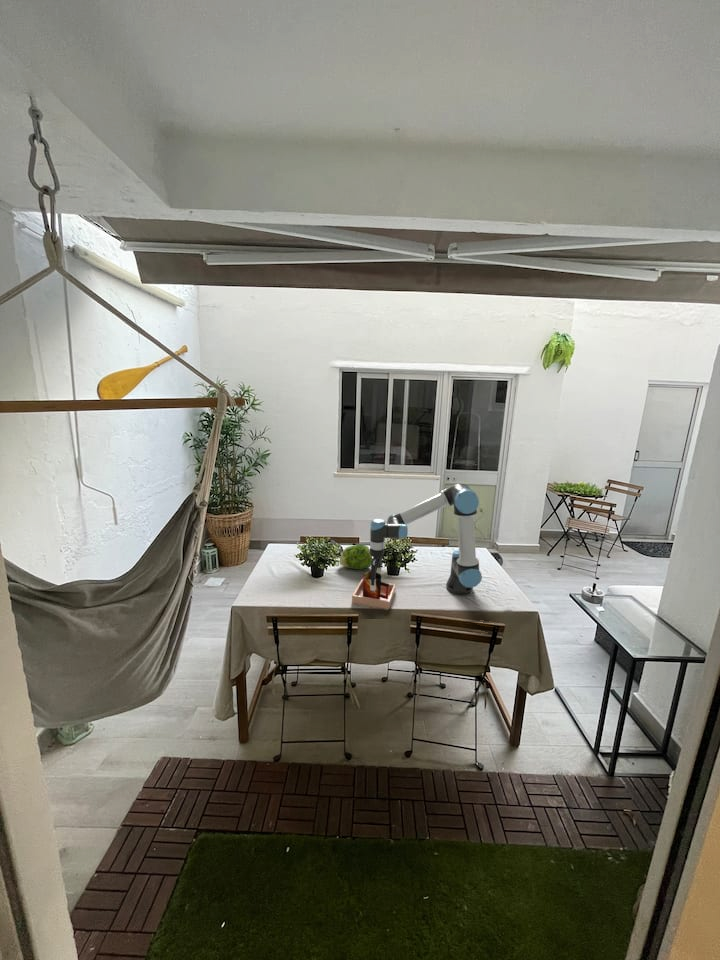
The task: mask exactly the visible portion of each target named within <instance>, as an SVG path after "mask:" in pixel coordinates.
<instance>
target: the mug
mask: <svg viewBox="0 0 720 960" xmlns="http://www.w3.org/2000/svg"><path fill="white" fill-rule="evenodd" d="M370 572H371V571H367V572H365V573H364V574H363V578H362V579H363V597H369V598H375V599H379V598H380V597H381V598H384V599H388V589H389V584H387V583H388V582H384V581H382V574H381V575H380V574H379V573H376V578H375V579H376V590H375V591H373V590H370V581H371V580H370V579H369V578H370ZM381 585H382V586H385V587H386V595H382V594H380V591H381Z"/></svg>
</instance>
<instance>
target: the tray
mask: <svg viewBox="0 0 720 960" xmlns="http://www.w3.org/2000/svg"><path fill="white" fill-rule="evenodd" d="M363 579H364V578H361V580H360V581H359V583H358V585H357V586H356V588H355V589H354V592H353V594H352V595H351V604H352V605H356V606H363V607H367V606H368V608H373V607H375V608H374V609H379V610H385V611H390V607H391V605H392V602H393V599H394V597H395V595H394V594H396V588H397V587H396V586H397V585H396V584H395V583H389V582H386V583H387V584H389V589H388V599H384V598H381V597H380V598H379V599H375V598H369V597H363ZM380 594H382V595H386V587H385V586H382V585H381V591H380Z"/></svg>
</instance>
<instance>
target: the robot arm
mask: <svg viewBox="0 0 720 960" xmlns="http://www.w3.org/2000/svg"><path fill="white" fill-rule="evenodd" d="M479 501H480V500H479V496H478V495H477V493H476V492H475V491H474V490H473V489H471V488H470V487H469V486H468V485H466V484H465V483H456V484H453V485H451V486H448V487H446V488H444V489H443V490H441V491H440V493H438V494H436V495H434V496H432V497H430V498H428V499H426V500H423V501H422V502H420V503H418V504H415V505H413V506H411V507H410V508H407V509H406V510H403V511H401V512H399V513H397V514H396V513H394V514H390V515H389V516H388V518H387V519H386V520H387V521H385V519H381V518H374V519H372V520H371V521H370V537H369V539H370V540H369V542H368V543H369V549H370V555H371V556H372V564H371V566H370V571H369V572H370V578H369V579H370V580H371V581H370V590H373V591H375V590H376V579H375V578H376V573H379V574H380V575H381V576H382V568H384V566H383V558H382V557H383V556H384V554H385V539H400V540H401V539H407V537H408V533H409V532H408V531H409V530H408V525H410V524H411V523H413V522H415V521H418V520H419V519H421V518H424V517H426V516H428V515H430V514H432V513H434V512H436V511H438V510H441V509H442V508H444V507H451V506H453V514H454V515H455V517H456V520H457V536H458V537H457V539H458V550H454V551H453V552H452V556H451V564H450V575H449V577H448V580H446V585H445V588H446V590H447V591H448V592H450V593H451V592H452V594H454V595H457V594H459V595H458V596H467V595H466V594H469V595H471V594H472V593H473V592H474V588H475V587H477V586H479V584H480V583H481V582H482V580H483V579H482V578H483V575H482V572H481V571H480V559H478V558H477V554H476V553H477V551H476V533H475V529H476V527H475V515H477V514H478V508H479V505H480V504H479V503H480V502H479ZM386 522H387V523H386ZM472 591H473V592H472ZM471 592H472V593H471ZM470 593H471V594H470Z"/></svg>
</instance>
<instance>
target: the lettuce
mask: <svg viewBox="0 0 720 960" xmlns="http://www.w3.org/2000/svg"><path fill="white" fill-rule="evenodd" d="M340 555H341V556H340ZM340 555H339V557H340V561H339V560H338V563H339V565H340V566H343V567H345V568H348V569H352V570H364V569H367V568H371V564H372V559H373V556H371V555H370V547H368V546H367V545H366V544H355V545H351V546H348V547H346V548H345V549H343V550H342V552H341V554H340Z"/></svg>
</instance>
